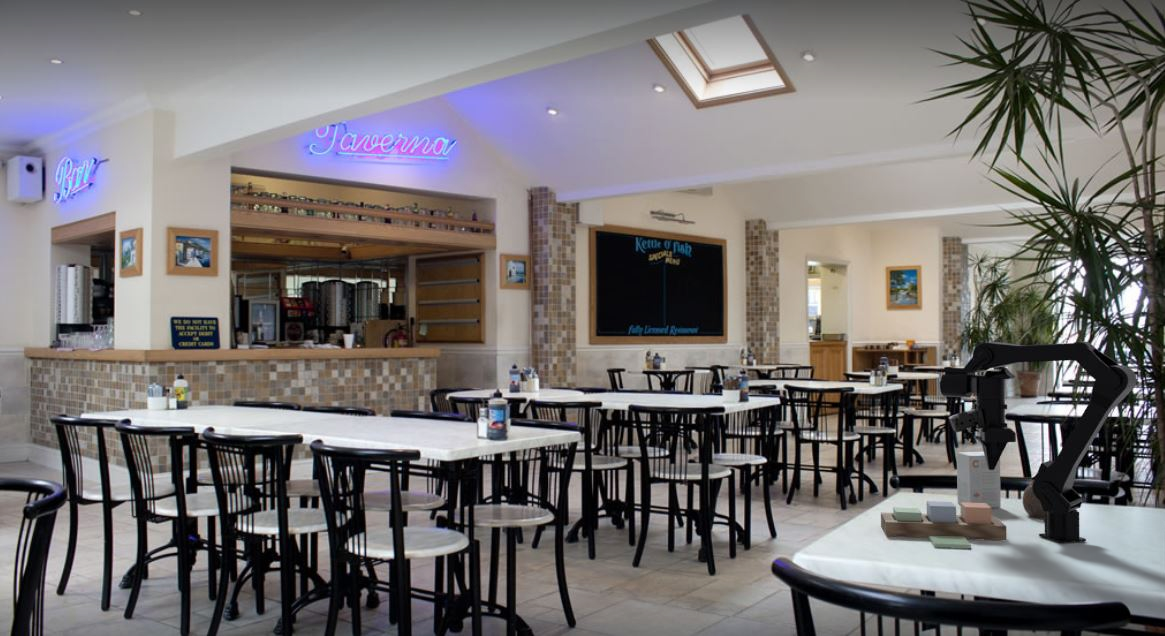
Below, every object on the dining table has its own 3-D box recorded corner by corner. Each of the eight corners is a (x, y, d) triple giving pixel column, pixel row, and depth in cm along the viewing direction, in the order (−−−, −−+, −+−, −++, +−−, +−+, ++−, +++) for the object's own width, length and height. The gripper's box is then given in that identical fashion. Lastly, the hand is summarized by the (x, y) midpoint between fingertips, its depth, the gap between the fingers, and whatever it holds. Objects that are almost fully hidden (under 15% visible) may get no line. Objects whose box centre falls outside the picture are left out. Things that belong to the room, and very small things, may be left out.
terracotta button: (986, 521, 201) (986, 503, 201) (991, 526, 196) (991, 507, 196) (960, 520, 202) (960, 502, 202) (965, 525, 197) (965, 507, 197)
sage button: (918, 526, 204) (918, 507, 204) (921, 531, 199) (921, 512, 199) (893, 525, 205) (893, 507, 205) (896, 530, 200) (896, 511, 200)
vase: (1061, 519, 213) (1060, 481, 213) (1030, 519, 214) (1030, 481, 214) (1046, 513, 220) (1046, 476, 220) (1017, 513, 220) (1017, 476, 220)
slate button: (951, 520, 202) (951, 501, 202) (956, 525, 197) (956, 506, 197) (926, 519, 204) (926, 501, 204) (930, 524, 198) (930, 505, 198)
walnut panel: (995, 530, 203) (995, 516, 203) (1006, 540, 193) (1006, 526, 193) (880, 525, 208) (880, 512, 208) (886, 536, 198) (885, 521, 198)
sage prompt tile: (964, 540, 193) (964, 536, 193) (971, 548, 187) (971, 544, 187) (928, 539, 195) (928, 535, 195) (934, 547, 188) (934, 543, 188)
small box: (986, 502, 233) (986, 451, 233) (1001, 507, 227) (1000, 454, 227) (956, 503, 232) (956, 451, 232) (970, 509, 226) (969, 455, 226)
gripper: (944, 395, 215) (944, 462, 215) (959, 402, 197) (960, 475, 197) (995, 395, 213) (996, 463, 213) (1016, 402, 194) (1016, 477, 194)
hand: (991, 469), depth 204 cm, fingers closed
